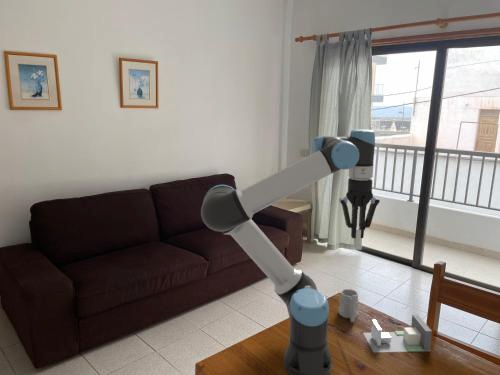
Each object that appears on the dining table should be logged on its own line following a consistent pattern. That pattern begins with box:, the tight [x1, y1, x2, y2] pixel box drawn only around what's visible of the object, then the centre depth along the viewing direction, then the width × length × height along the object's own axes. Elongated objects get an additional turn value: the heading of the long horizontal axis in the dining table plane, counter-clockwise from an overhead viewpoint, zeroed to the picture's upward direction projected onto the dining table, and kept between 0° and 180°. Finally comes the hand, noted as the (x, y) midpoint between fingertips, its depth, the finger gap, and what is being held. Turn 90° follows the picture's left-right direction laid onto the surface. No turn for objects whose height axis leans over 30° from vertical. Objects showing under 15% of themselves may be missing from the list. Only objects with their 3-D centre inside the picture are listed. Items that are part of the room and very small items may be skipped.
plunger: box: [370, 319, 391, 346], centre depth 131 cm, size 5×6×6 cm
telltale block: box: [403, 326, 421, 345], centre depth 132 cm, size 4×4×4 cm
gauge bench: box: [362, 314, 433, 353], centre depth 131 cm, size 19×11×8 cm, turn 92°
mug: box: [337, 288, 360, 323], centre depth 147 cm, size 8×12×12 cm, turn 179°
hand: (356, 247), depth 129 cm, fingers closed
